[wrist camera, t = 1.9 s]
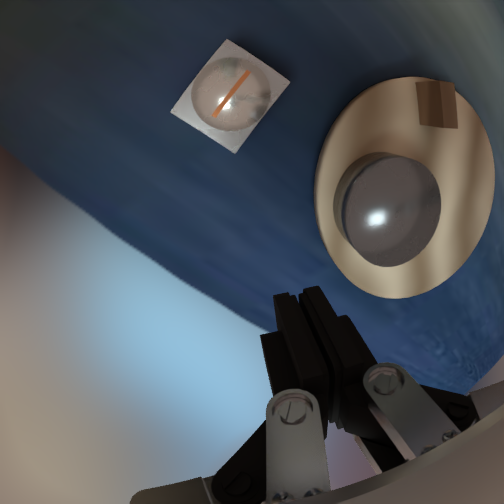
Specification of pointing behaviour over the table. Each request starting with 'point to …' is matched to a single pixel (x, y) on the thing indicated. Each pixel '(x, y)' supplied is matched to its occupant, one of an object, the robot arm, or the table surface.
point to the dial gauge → (230, 95)
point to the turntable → (426, 152)
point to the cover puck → (387, 207)
